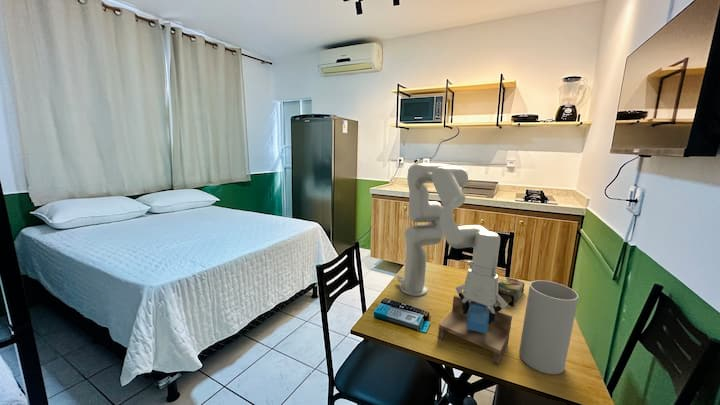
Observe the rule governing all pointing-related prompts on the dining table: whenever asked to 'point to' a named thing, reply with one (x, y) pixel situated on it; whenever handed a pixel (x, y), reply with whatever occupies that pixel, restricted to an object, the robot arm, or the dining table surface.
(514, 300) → the juice carton
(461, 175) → the robot arm
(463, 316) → the brown wooden bench
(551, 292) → the cylinder vase
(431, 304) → the dining table surface
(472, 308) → the perfume bottle
